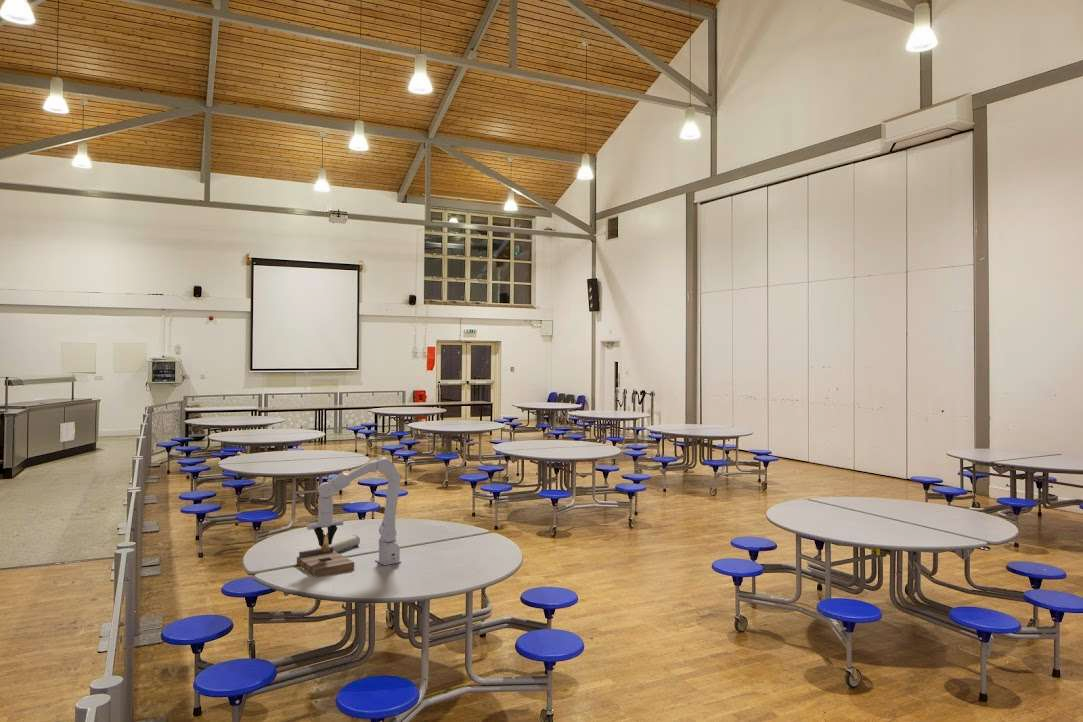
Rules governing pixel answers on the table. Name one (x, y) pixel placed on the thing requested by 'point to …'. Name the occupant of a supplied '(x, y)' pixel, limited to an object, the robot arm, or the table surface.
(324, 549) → the brass cylinder
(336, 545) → the tube
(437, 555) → the table surface
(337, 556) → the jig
